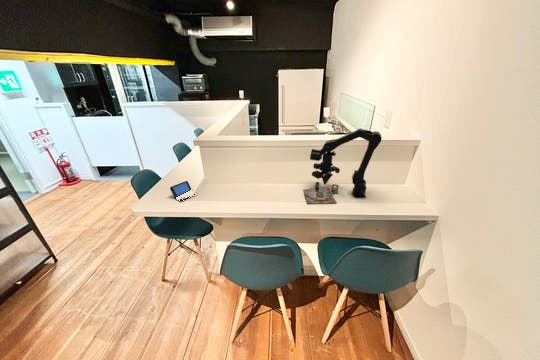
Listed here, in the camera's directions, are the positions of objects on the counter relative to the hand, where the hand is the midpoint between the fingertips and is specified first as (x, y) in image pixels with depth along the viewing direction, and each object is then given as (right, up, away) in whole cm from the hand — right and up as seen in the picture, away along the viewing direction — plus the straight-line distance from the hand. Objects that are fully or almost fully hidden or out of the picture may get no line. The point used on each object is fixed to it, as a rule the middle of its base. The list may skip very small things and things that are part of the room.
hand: (324, 184), depth 137 cm
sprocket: (-6, -6, -7) cm, 11 cm away
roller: (+5, -5, -2) cm, 8 cm away
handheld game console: (-90, -8, -2) cm, 90 cm away
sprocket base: (-6, -8, -7) cm, 12 cm away
